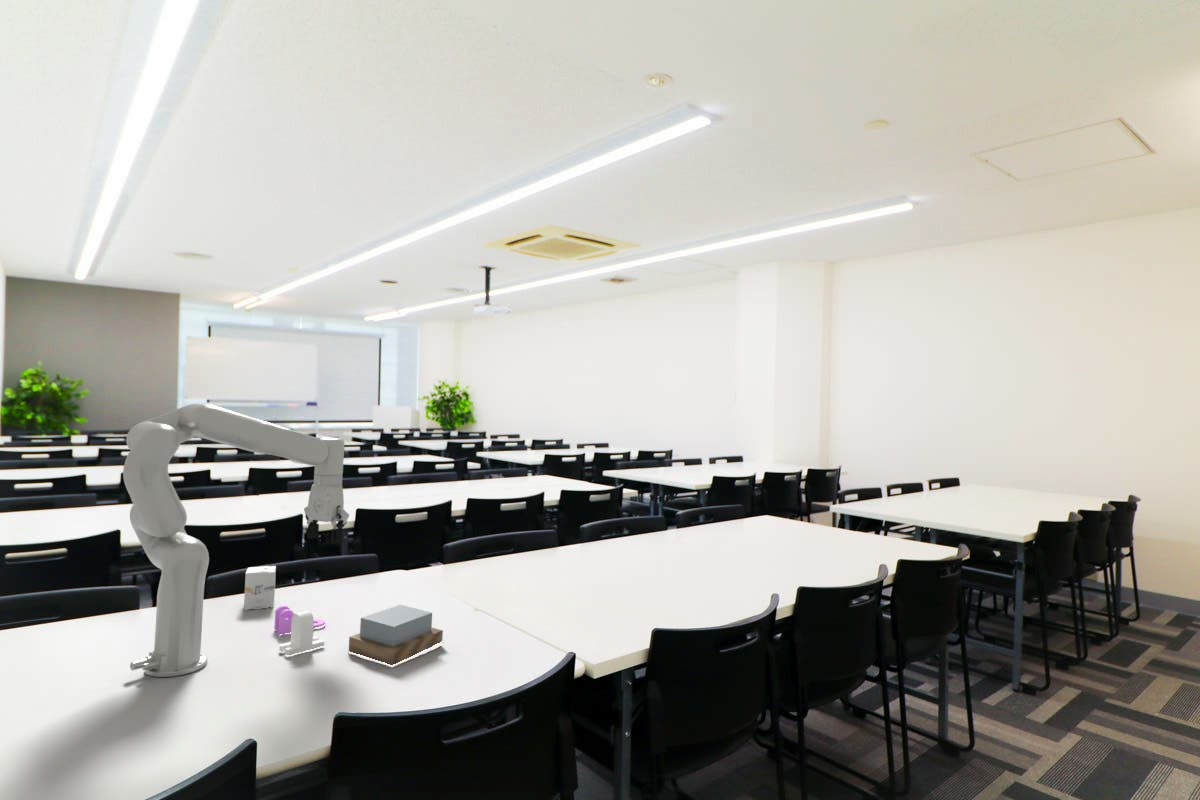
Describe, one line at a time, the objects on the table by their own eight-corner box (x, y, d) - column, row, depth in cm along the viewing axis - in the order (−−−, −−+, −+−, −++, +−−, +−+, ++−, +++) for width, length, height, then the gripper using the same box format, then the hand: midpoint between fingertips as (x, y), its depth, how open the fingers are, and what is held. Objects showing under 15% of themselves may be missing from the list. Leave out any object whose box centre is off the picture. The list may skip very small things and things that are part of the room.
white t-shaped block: (278, 652, 167) (280, 614, 167) (315, 642, 175) (317, 606, 175) (287, 658, 164) (289, 618, 164) (324, 648, 171) (326, 610, 172)
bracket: (279, 636, 178) (280, 611, 179) (274, 630, 183) (275, 606, 183) (327, 628, 187) (328, 604, 187) (321, 622, 191) (322, 599, 191)
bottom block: (391, 670, 160) (392, 650, 160) (348, 656, 168) (349, 636, 168) (441, 648, 176) (442, 630, 176) (400, 636, 184) (400, 619, 184)
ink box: (245, 602, 206) (247, 566, 206) (274, 600, 210) (276, 564, 210) (242, 610, 198) (245, 573, 199) (273, 608, 202) (275, 571, 202)
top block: (392, 646, 163) (393, 626, 163) (359, 636, 168) (360, 617, 169) (431, 630, 175) (432, 612, 175) (399, 622, 181) (400, 604, 181)
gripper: (296, 478, 184) (292, 538, 184) (338, 484, 176) (334, 546, 176) (318, 477, 191) (314, 534, 190) (359, 482, 183) (356, 542, 182)
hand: (324, 540), depth 183 cm, fingers open, 9 cm apart
